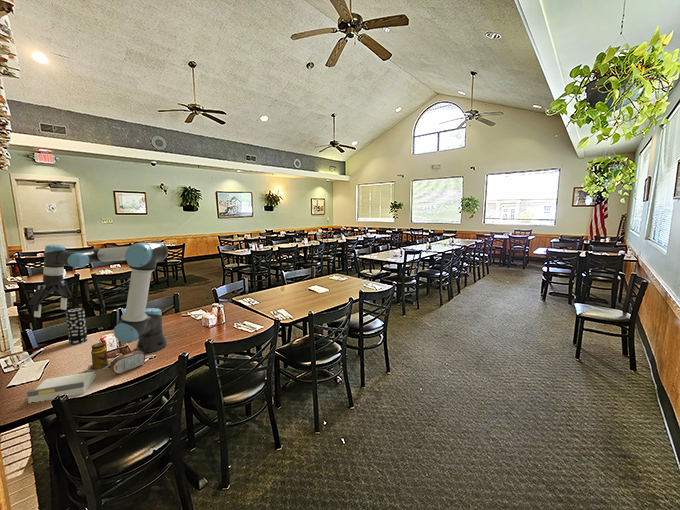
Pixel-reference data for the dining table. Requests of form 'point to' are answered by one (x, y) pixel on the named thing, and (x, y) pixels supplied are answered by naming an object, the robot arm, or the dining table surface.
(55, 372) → the dining table surface
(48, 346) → the dining table surface
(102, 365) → the condiment
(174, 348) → the dining table surface
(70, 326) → the spotted tube
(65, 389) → the grey striped flat slab
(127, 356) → the brown grey oval slab
